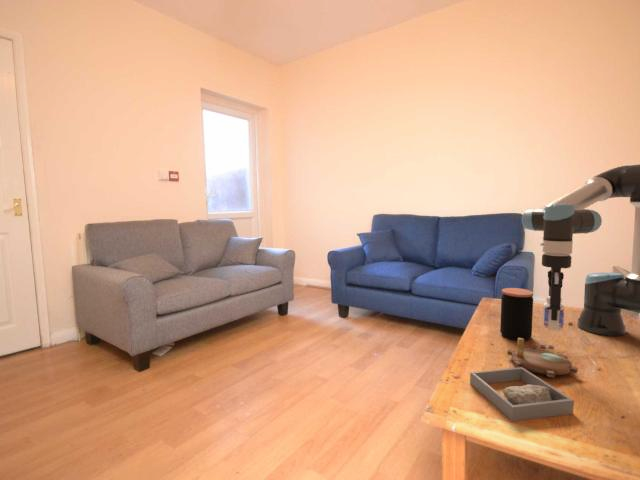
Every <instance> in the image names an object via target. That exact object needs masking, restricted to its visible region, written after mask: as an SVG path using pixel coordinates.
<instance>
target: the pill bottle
mask: <svg viewBox="0 0 640 480" xmlns="http://www.w3.org/2000/svg"><path fill="white" fill-rule="evenodd" d="M562 300H563V299H562V297H561V301H560V307H561V309H560V315H559V331H562V330H563V329H564V320H565V319H564V316H565V307H564V304H562ZM547 307H550V296H549V295H547V296H546V298H545V302H544V303H543V308H542V309H543V311H542V326H543V327H544V328H545V329H548V317H549V309H547ZM548 330H549V329H548Z"/></svg>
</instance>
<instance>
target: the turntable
mask: <svg viewBox="0 0 640 480" xmlns="http://www.w3.org/2000/svg"><path fill="white" fill-rule="evenodd" d="M516 344H517V345H516V349H515V350H512V349H508V350H507V355H508V356H511V360H512V361H513V363H512V365H513V366H514V367H515V368H518V367H523V368H524V369H528V370H530V371H534V372H537V373H542V374H546V375H545V376H546V377H550V378H556V377H555V376H562V375H568V374H569V373H572V374H574V375H575V374H577V373H578V372H579V370H578V369H579V368H578V367H576V366H573V364H572V362H571V361H570V360H569V359H568V355H565V354H563V353H561V354H558V353H555V352H553V351H552V352H551V351H548V350H544V349H538V348H536V347H535V346H528V348H526V347H525V341H524V339H523V338H518V341H517V343H516ZM528 370H527V371H528ZM530 371H529V372H530Z"/></svg>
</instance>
